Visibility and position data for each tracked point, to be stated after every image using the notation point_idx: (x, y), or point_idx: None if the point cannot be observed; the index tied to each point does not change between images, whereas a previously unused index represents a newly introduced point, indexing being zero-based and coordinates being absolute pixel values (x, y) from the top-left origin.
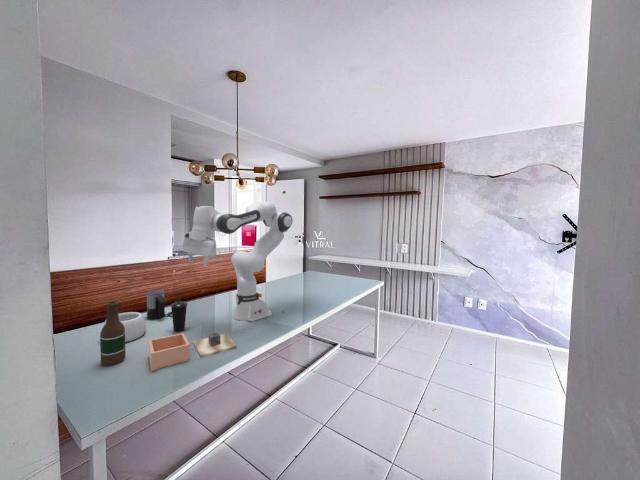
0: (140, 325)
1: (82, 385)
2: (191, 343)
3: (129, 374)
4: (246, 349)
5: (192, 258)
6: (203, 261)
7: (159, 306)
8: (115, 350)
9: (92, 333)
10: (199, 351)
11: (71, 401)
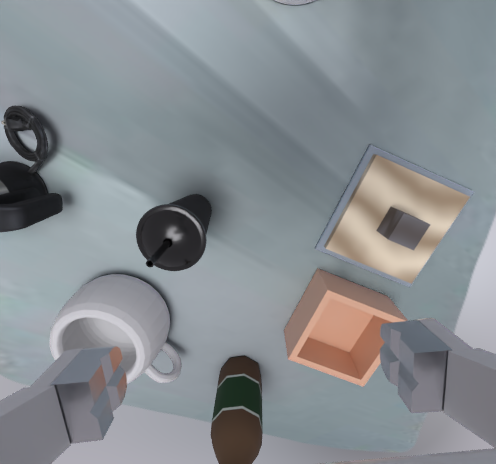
0: (152, 317)
1: (286, 421)
2: (319, 247)
3: (320, 376)
4: (491, 177)
5: (59, 398)
6: (449, 414)
7: (34, 223)
8: (261, 401)
9: (43, 342)
10: (392, 274)
11: (319, 439)
